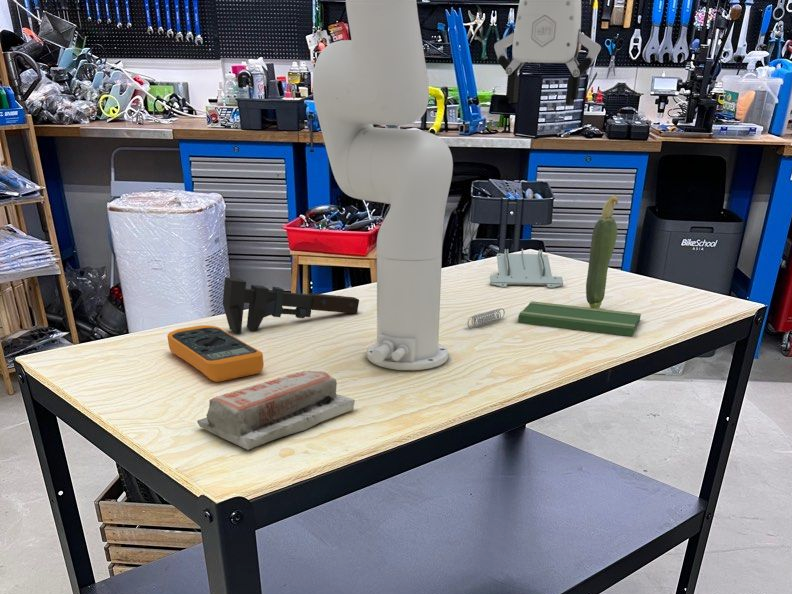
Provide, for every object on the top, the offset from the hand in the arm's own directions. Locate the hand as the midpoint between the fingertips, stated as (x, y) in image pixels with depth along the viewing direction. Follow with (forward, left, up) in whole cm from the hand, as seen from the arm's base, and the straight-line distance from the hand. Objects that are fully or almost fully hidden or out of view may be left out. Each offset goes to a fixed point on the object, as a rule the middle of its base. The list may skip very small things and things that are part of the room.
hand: (540, 103), depth 132 cm
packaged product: (-65, +16, -34) cm, 75 cm away
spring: (-13, +3, -34) cm, 36 cm away
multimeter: (-50, +35, -34) cm, 70 cm away
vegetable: (+5, -13, -34) cm, 37 cm away
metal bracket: (+22, +5, -34) cm, 41 cm away
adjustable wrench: (-26, +34, -34) cm, 55 cm away
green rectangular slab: (-5, -12, -34) cm, 36 cm away
